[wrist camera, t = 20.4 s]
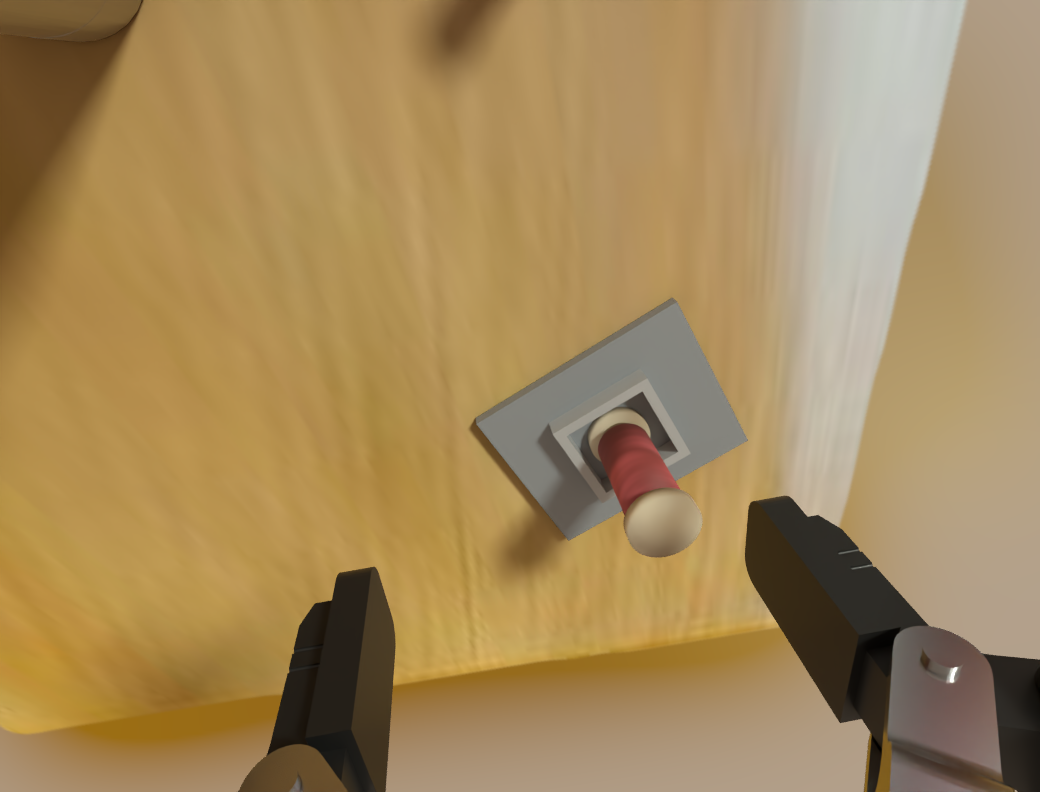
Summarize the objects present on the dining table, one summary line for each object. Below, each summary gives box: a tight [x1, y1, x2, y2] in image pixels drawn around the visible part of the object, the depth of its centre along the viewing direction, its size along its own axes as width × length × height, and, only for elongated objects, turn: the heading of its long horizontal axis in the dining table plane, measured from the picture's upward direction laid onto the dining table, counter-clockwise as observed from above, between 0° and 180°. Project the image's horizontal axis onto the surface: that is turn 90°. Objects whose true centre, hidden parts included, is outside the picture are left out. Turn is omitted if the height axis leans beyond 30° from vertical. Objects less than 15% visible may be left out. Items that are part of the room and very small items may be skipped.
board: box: [476, 298, 748, 541], centre depth 50 cm, size 18×15×3 cm
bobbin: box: [587, 407, 702, 557], centre depth 45 cm, size 5×5×12 cm
